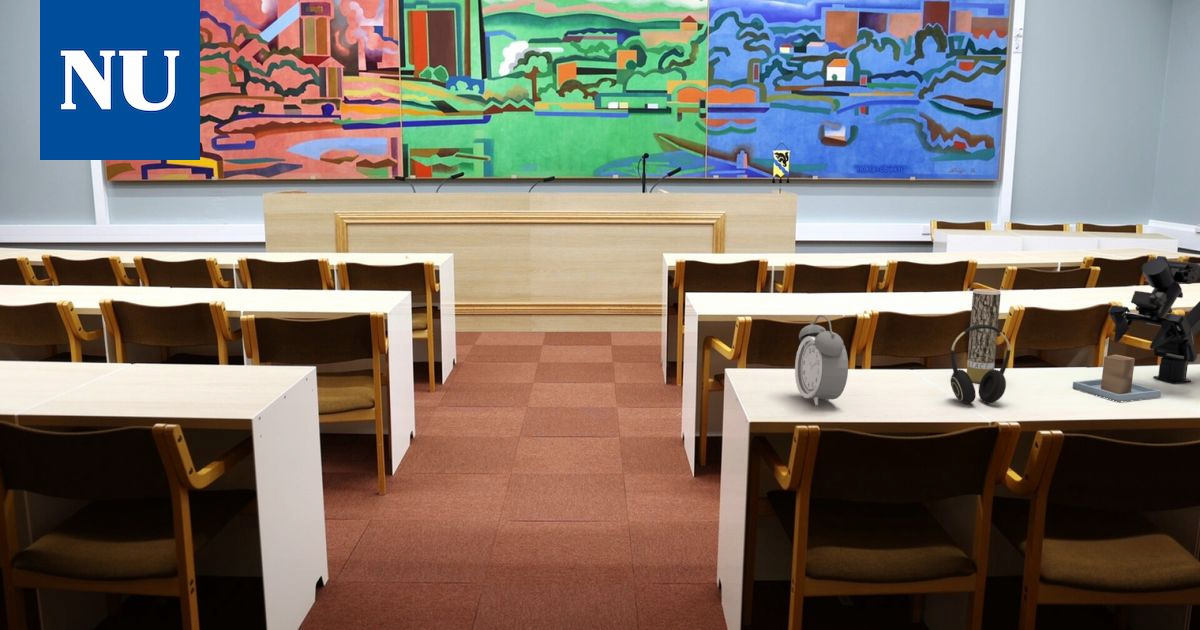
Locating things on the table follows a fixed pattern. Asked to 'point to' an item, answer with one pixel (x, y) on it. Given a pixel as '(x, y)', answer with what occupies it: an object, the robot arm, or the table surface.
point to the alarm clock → (820, 363)
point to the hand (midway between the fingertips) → (1132, 344)
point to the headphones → (990, 383)
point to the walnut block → (1117, 374)
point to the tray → (1135, 394)
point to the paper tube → (983, 333)
